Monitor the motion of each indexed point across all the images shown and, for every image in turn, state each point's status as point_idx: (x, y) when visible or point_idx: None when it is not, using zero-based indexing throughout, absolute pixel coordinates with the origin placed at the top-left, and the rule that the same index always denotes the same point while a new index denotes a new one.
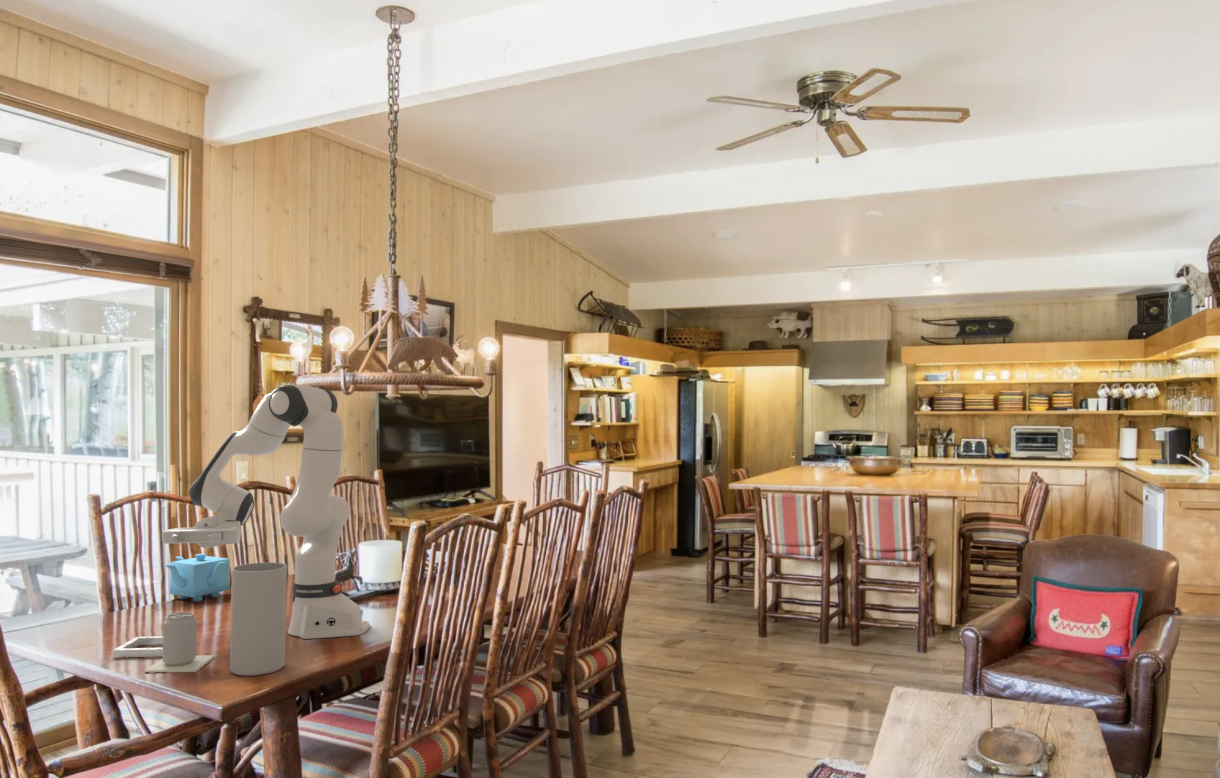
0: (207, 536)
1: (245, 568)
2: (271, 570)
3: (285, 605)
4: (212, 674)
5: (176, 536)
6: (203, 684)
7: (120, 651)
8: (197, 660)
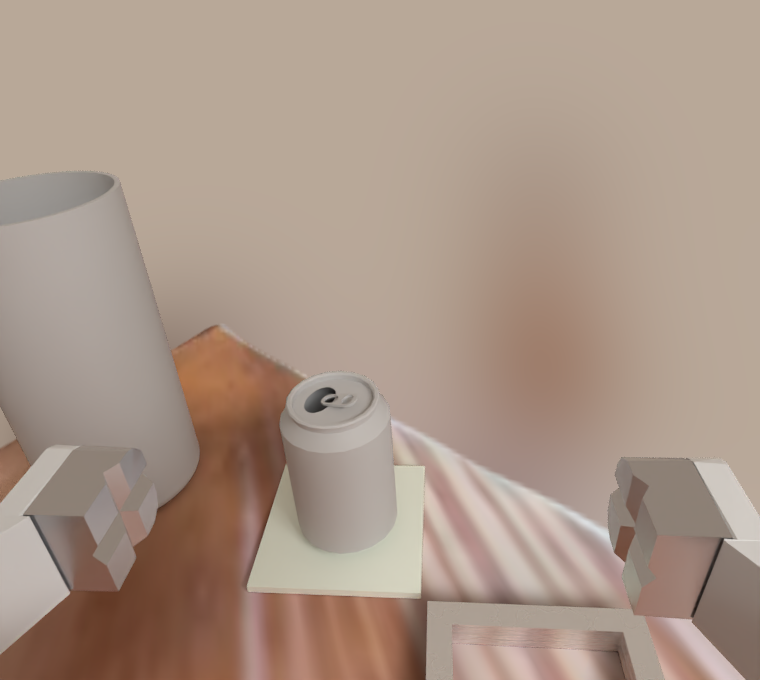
0: (134, 448)
1: (56, 230)
2: (6, 180)
3: None
4: (244, 449)
5: (636, 460)
6: (259, 399)
7: (608, 610)
8: (296, 534)
